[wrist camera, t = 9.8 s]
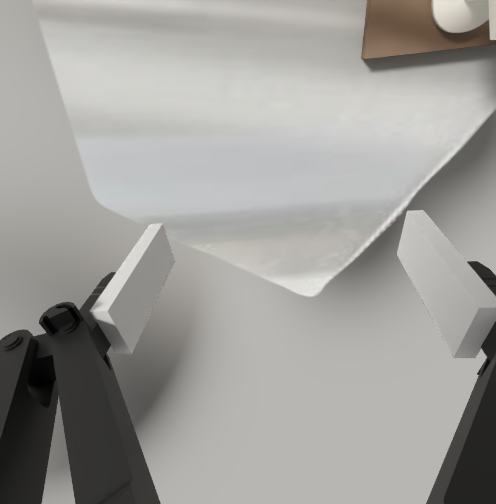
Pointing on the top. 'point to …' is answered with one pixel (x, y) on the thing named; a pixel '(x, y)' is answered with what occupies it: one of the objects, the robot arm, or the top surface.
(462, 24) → the peg
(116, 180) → the top surface
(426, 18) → the wooden base board
